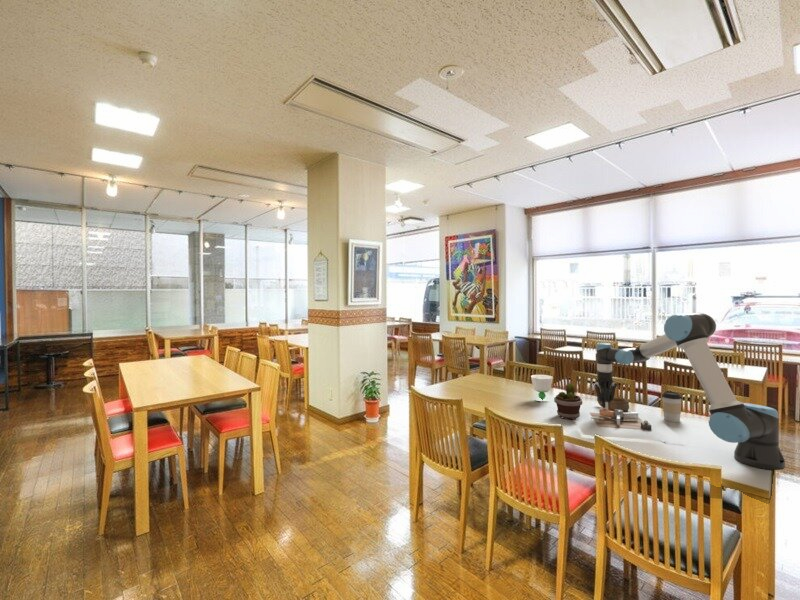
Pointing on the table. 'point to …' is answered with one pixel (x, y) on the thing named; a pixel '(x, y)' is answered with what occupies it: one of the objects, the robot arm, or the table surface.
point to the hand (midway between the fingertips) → (605, 413)
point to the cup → (541, 384)
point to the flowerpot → (568, 403)
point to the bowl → (617, 404)
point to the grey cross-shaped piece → (618, 415)
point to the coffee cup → (671, 406)
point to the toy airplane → (627, 424)
